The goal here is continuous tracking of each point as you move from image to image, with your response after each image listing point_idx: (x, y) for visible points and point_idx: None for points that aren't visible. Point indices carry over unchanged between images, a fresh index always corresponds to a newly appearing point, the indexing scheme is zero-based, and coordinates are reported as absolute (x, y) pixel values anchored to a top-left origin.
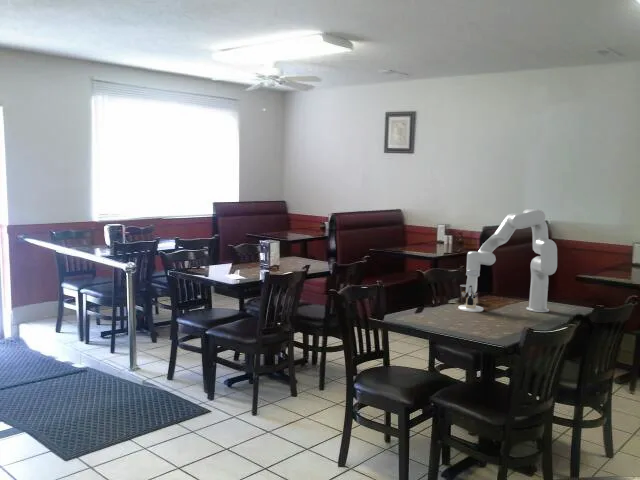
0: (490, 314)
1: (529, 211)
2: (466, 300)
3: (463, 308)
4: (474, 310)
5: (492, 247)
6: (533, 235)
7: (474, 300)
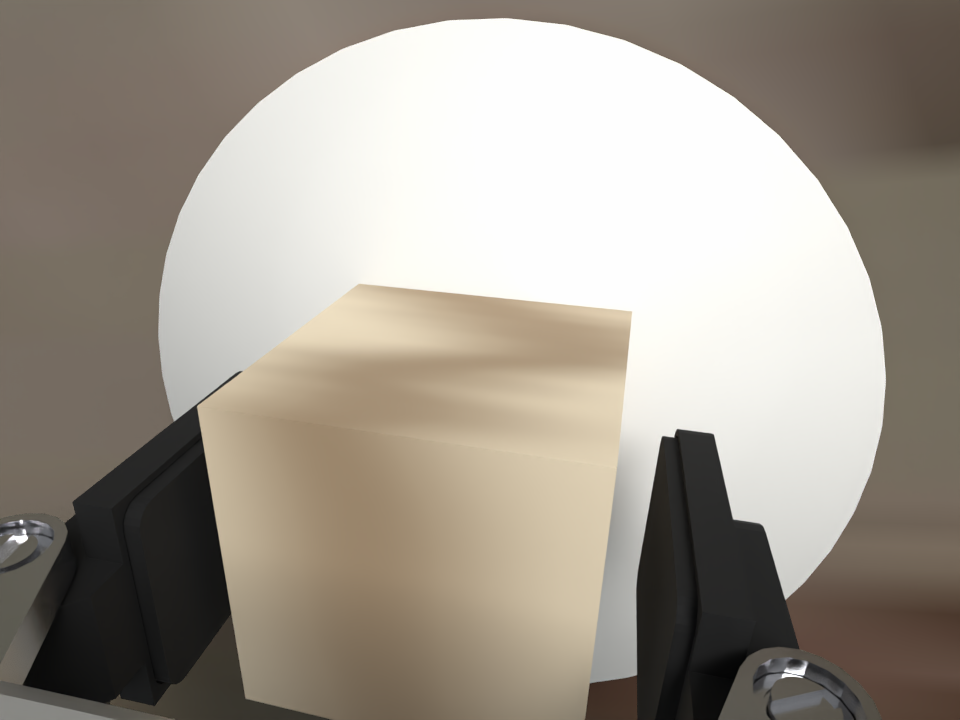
0: (231, 713)
1: None
2: (238, 392)
3: (202, 231)
4: None
5: None
6: None
7: (253, 667)
